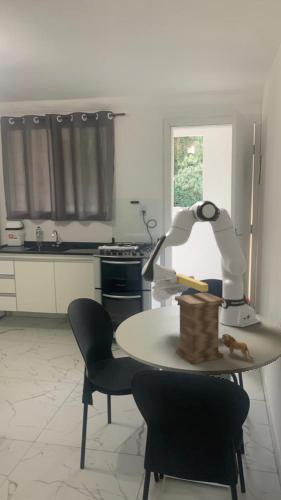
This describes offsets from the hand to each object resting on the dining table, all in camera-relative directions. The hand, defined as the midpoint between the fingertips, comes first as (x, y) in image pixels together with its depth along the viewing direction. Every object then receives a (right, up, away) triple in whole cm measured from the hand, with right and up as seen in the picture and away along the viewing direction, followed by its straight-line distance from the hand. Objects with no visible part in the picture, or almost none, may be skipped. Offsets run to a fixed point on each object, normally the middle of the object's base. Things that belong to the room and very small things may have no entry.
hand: (181, 277), depth 183 cm
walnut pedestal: (+7, -34, -10) cm, 35 cm away
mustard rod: (+3, -3, -7) cm, 8 cm away
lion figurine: (+23, -34, -12) cm, 42 cm away
